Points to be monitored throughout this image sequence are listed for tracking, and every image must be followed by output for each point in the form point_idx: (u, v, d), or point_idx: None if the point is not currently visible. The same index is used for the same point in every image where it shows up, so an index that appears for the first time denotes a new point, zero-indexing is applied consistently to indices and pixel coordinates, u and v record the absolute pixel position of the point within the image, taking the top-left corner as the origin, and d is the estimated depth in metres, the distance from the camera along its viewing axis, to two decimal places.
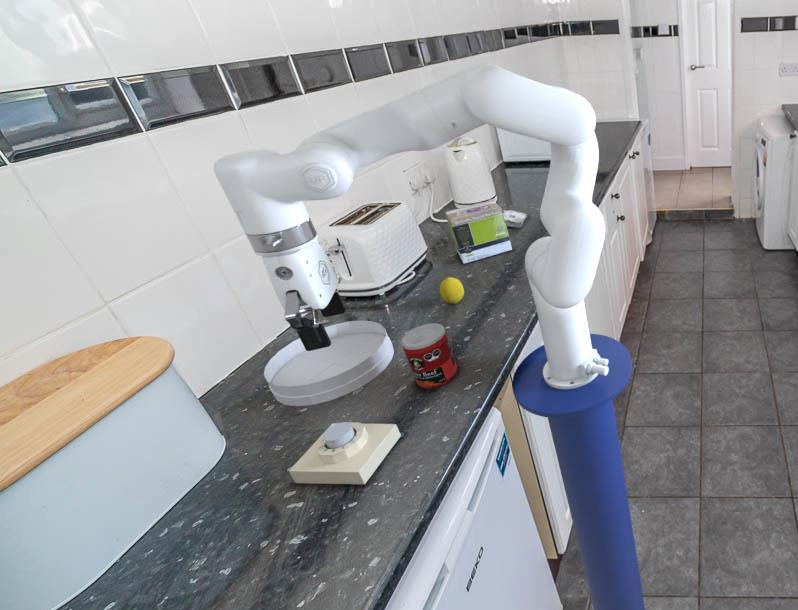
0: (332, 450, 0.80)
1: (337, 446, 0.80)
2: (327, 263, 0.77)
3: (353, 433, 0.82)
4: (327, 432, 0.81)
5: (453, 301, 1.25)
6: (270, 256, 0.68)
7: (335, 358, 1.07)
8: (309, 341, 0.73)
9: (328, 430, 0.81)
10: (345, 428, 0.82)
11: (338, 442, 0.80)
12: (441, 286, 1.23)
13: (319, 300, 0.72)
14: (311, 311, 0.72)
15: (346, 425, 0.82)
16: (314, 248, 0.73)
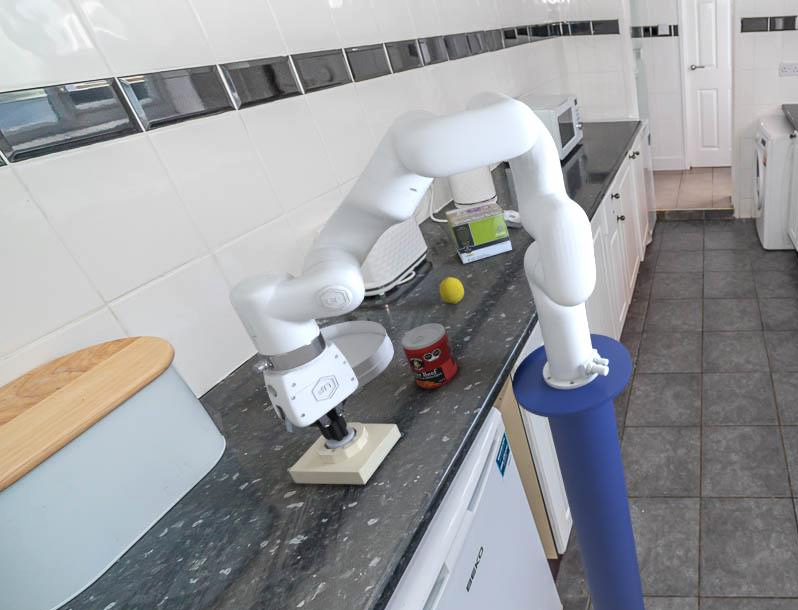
0: (332, 450, 0.80)
1: None
2: (340, 375, 0.78)
3: None
4: None
5: (453, 301, 1.25)
6: (266, 373, 0.71)
7: None
8: (323, 433, 0.80)
9: None
10: None
11: (340, 446, 0.81)
12: (441, 286, 1.23)
13: (299, 420, 0.73)
14: None
15: (348, 430, 0.83)
16: (317, 367, 0.74)
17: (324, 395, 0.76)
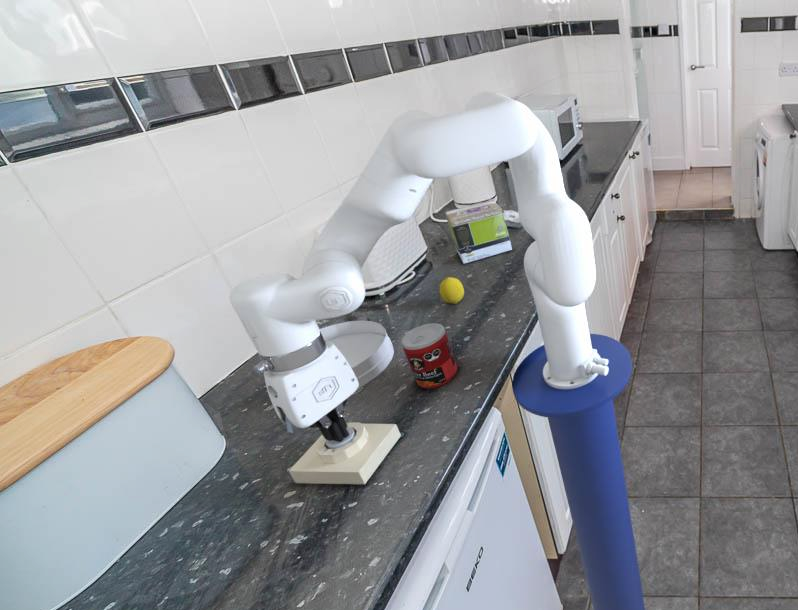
0: (332, 450, 0.80)
1: None
2: (340, 376, 0.78)
3: None
4: None
5: (453, 301, 1.25)
6: (267, 374, 0.71)
7: None
8: (323, 434, 0.80)
9: None
10: None
11: None
12: (441, 286, 1.23)
13: (300, 421, 0.73)
14: None
15: (349, 430, 0.83)
16: (317, 368, 0.74)
17: (324, 396, 0.76)
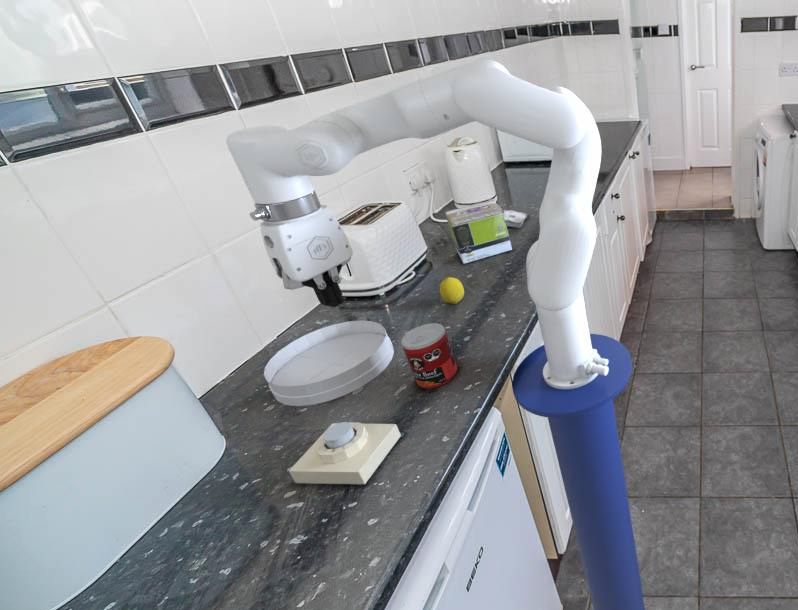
0: (332, 450, 0.80)
1: (337, 446, 0.80)
2: (334, 239, 0.81)
3: (353, 433, 0.82)
4: (327, 432, 0.81)
5: (453, 301, 1.25)
6: (263, 224, 0.74)
7: (335, 358, 1.07)
8: (319, 297, 0.82)
9: (328, 430, 0.81)
10: (345, 428, 0.82)
11: (338, 442, 0.80)
12: (441, 286, 1.23)
13: (295, 273, 0.76)
14: (312, 279, 0.80)
15: (346, 425, 0.82)
16: (312, 224, 0.77)
17: (319, 255, 0.79)
